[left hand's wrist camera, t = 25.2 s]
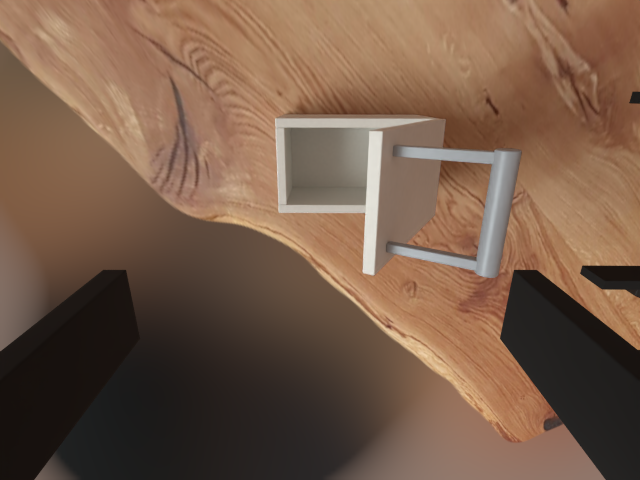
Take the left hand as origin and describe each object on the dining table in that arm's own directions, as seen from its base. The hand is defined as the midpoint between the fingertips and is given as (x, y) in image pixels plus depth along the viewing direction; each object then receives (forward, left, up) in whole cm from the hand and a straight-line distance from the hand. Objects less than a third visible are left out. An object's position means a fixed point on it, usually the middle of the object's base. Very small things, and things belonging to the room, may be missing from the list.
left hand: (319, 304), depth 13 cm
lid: (-4, +6, -19) cm, 21 cm away
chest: (-2, +3, -36) cm, 36 cm away
